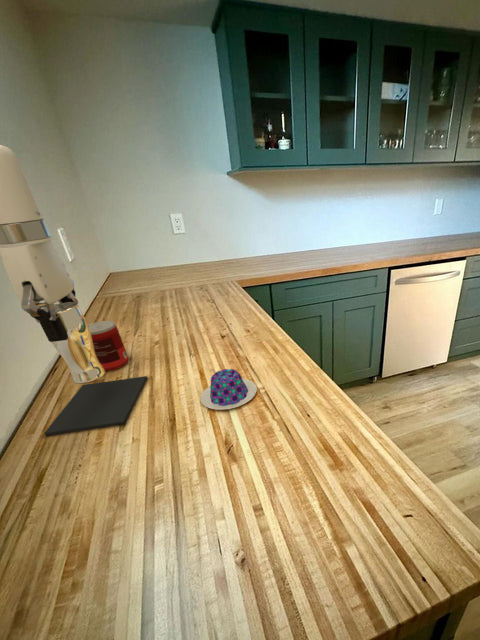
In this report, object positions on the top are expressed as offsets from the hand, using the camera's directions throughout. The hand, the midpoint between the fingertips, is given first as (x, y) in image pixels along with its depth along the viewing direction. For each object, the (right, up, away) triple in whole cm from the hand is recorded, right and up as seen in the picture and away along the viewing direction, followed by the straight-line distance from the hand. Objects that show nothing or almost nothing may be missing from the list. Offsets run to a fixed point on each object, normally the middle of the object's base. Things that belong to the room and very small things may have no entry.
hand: (68, 331), depth 65 cm
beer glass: (+1, -9, +5) cm, 10 cm away
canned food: (-5, -6, +26) cm, 27 cm away
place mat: (+1, -15, +9) cm, 17 cm away
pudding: (+30, -13, +8) cm, 33 cm away
